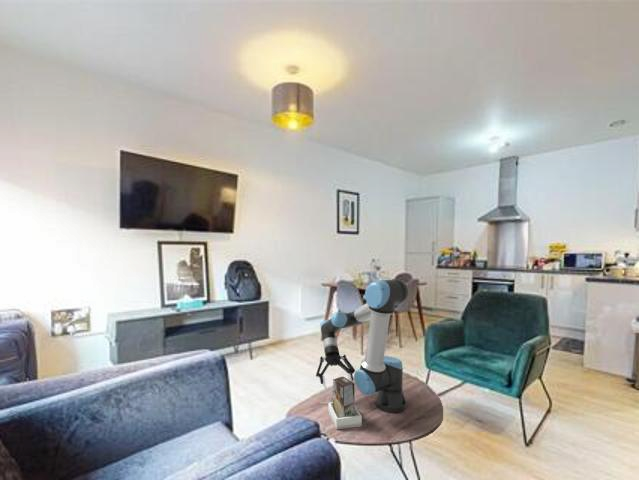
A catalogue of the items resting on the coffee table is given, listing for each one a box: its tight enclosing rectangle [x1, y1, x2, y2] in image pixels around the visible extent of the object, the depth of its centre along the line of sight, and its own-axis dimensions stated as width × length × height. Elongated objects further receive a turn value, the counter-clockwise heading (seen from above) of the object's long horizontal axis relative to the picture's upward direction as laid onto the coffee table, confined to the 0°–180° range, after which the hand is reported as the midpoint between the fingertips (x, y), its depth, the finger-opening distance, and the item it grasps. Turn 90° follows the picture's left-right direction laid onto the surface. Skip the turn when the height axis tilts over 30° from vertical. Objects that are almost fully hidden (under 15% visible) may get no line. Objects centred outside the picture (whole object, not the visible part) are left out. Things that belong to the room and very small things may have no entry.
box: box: [328, 401, 363, 430], centre depth 147 cm, size 12×15×4 cm
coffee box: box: [332, 376, 356, 418], centre depth 148 cm, size 9×6×16 cm
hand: (338, 388), depth 157 cm, fingers open, 13 cm apart
